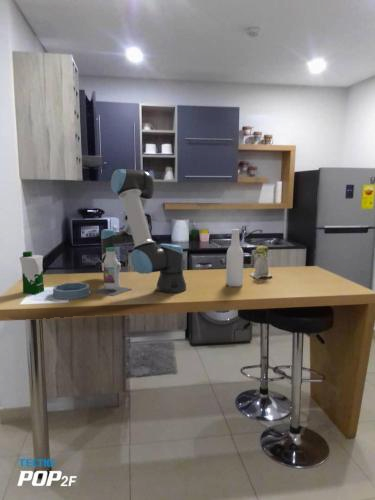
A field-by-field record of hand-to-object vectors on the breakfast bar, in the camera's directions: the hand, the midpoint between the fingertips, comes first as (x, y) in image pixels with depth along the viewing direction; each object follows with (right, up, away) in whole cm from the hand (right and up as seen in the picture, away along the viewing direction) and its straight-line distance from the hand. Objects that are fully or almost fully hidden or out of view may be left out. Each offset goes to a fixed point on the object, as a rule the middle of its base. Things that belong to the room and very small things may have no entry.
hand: (111, 267), depth 174 cm
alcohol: (+62, -10, +19) cm, 66 cm away
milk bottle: (-1, -10, +6) cm, 12 cm away
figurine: (+80, -7, +38) cm, 89 cm away
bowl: (-19, -13, 0) cm, 23 cm away
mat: (-1, -12, +7) cm, 14 cm away
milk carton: (-39, -12, +3) cm, 41 cm away
